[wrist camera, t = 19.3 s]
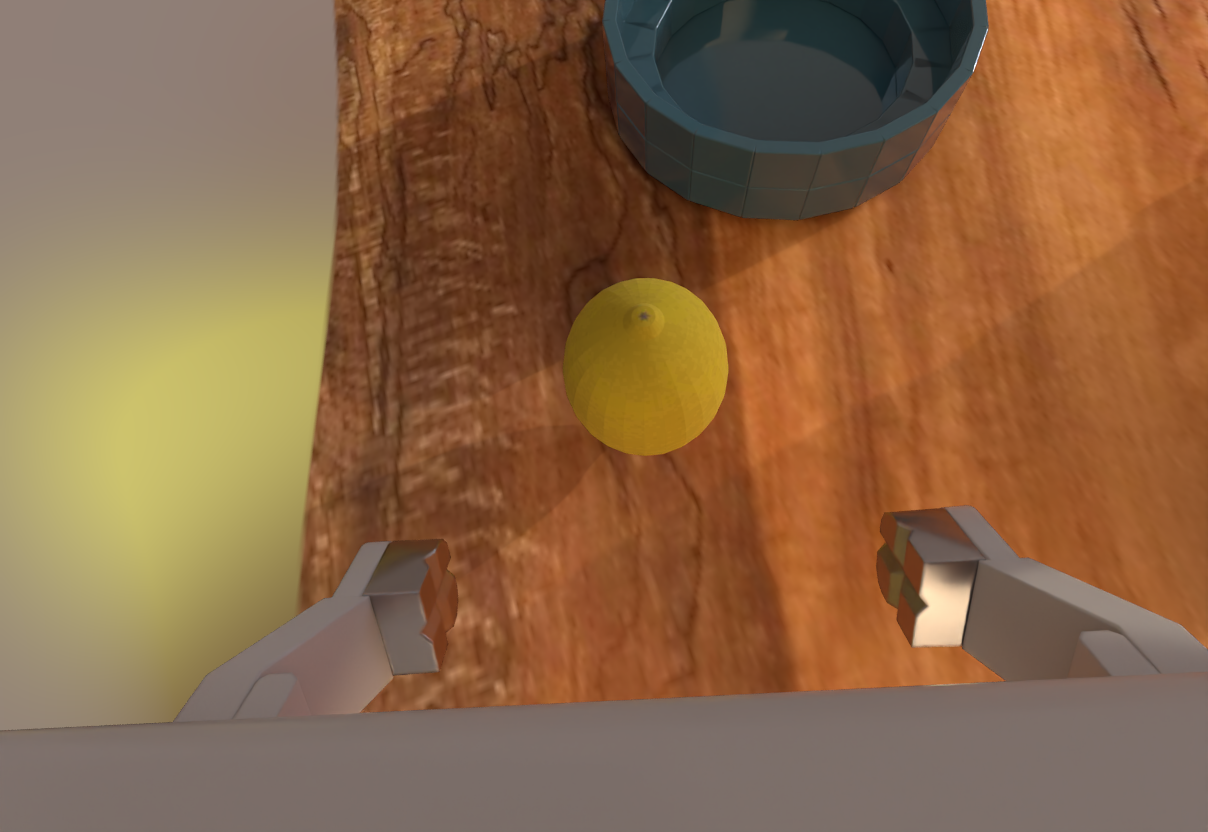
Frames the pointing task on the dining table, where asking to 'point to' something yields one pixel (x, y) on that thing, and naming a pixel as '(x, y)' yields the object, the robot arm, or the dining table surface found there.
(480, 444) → the dining table surface
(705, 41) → the bowl
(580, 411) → the lemon
